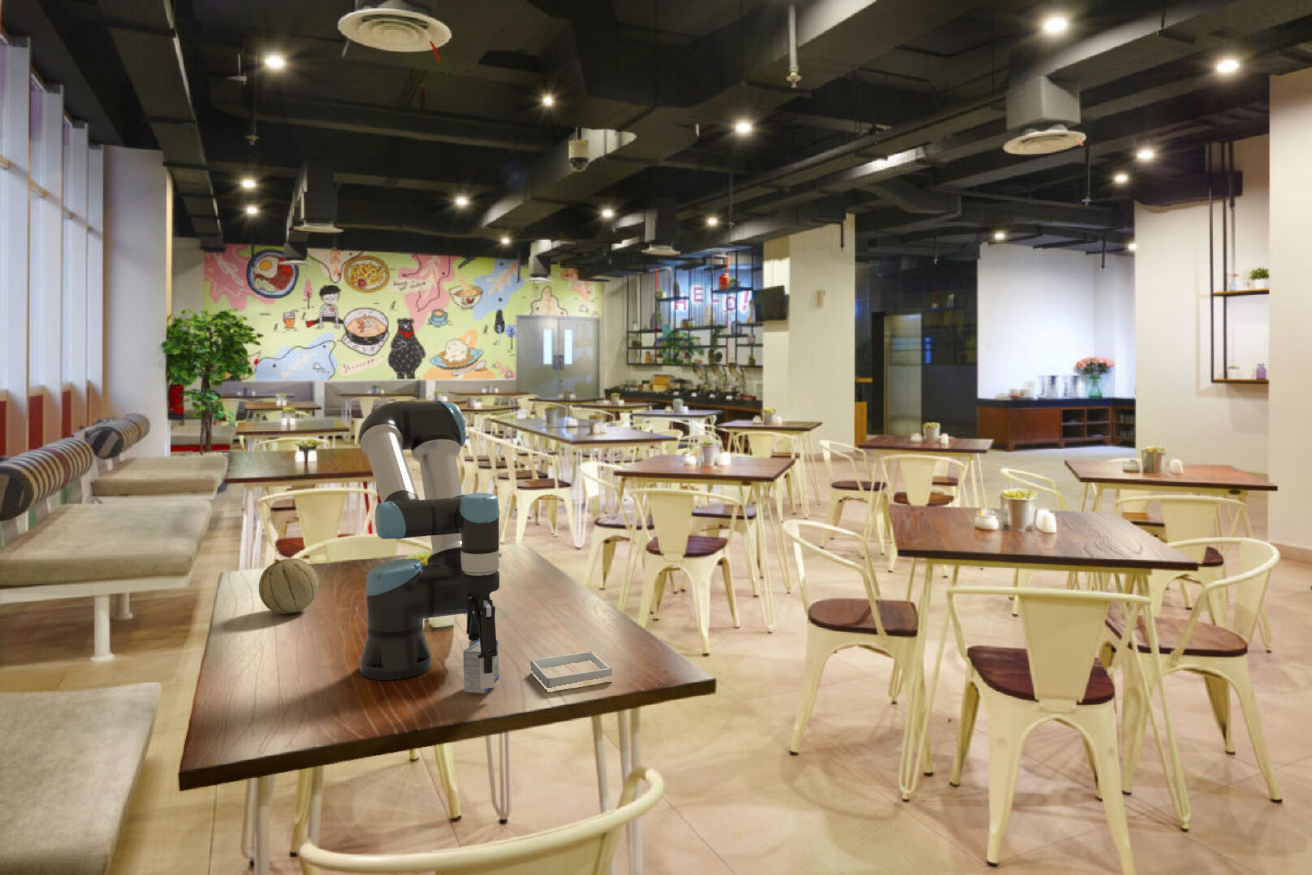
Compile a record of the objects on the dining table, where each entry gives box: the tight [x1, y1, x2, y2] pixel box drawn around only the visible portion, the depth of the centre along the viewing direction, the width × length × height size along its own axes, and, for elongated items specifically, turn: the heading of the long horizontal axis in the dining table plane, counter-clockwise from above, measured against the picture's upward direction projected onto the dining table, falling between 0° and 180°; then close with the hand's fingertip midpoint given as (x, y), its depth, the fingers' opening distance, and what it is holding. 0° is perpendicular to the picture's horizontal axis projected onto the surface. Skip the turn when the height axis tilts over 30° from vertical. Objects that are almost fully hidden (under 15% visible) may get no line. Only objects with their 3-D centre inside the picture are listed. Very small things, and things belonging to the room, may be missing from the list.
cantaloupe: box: [258, 557, 319, 615], centre depth 229 cm, size 15×15×15 cm
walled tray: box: [530, 650, 613, 688], centre depth 182 cm, size 14×12×3 cm
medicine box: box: [462, 639, 500, 695], centre depth 174 cm, size 8×4×9 cm, turn 168°
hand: (481, 679), depth 175 cm, fingers closed on medicine box, 9 cm apart
